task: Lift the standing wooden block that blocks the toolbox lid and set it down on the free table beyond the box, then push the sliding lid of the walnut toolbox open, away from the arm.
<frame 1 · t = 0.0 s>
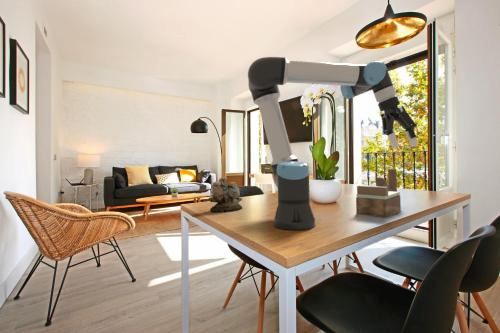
hand: (404, 147, 106), 28 cm above the table, tool tilted 20°, fingers open, 13 cm apart
owl figurine: (225, 210, 129), on the table
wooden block: (388, 206, 123), on the table
toolbox: (378, 212, 110), on the table
lid: (378, 190, 110), point 10 cm above the table, slide at 0.0 cm
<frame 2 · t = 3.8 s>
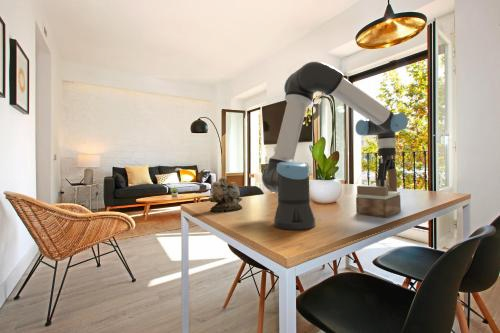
hand: (387, 192, 123), 6 cm above the table, tool pointing down, fingers open, 11 cm apart
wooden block: (388, 206, 123), on the table, touching gripper
everything else where it was.
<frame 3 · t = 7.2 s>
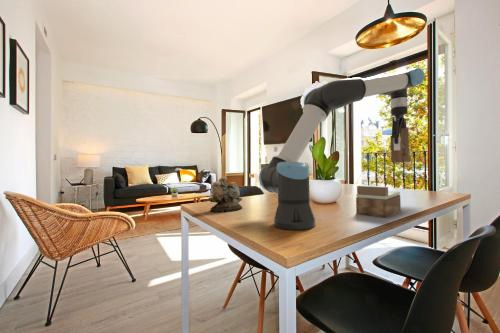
hand: (400, 150, 133), 27 cm above the table, tool pointing down
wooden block: (401, 162, 134), point 21 cm above the table, touching gripper, hand
everything else where it was.
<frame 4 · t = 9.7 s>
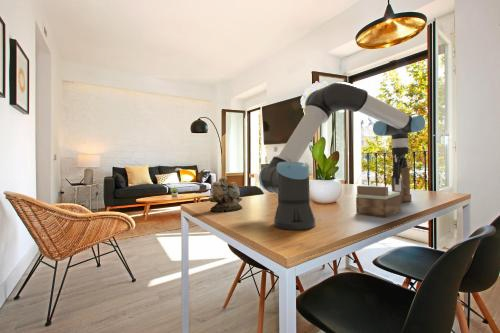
hand: (401, 189, 133), 6 cm above the table, tool pointing down, fingers open, 9 cm apart
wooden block: (401, 201, 134), on the table, touching gripper, hand
everything else where it was.
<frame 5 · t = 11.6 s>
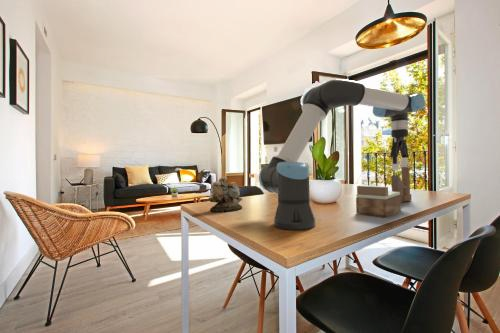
hand: (399, 170, 133), 17 cm above the table, tool pointing down, fingers open, 13 cm apart
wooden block: (401, 201, 134), on the table
everything else where it was.
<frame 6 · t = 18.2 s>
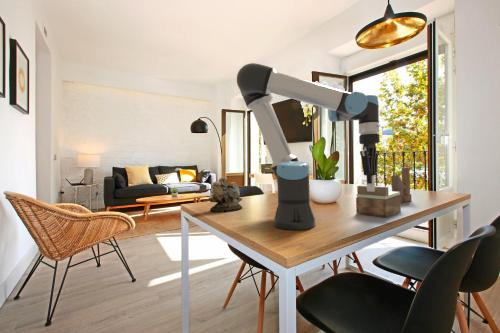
hand: (371, 191, 104), 10 cm above the table, tool pointing down, fingers closed
lid: (378, 190, 110), point 10 cm above the table, slide at 0.2 cm, touching gripper
everything else where it was.
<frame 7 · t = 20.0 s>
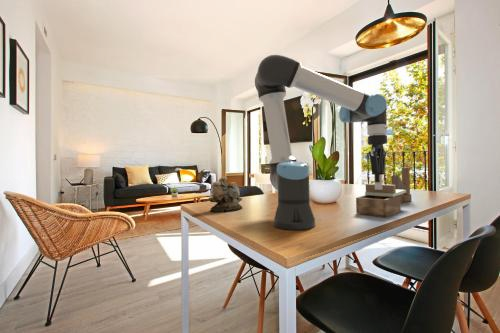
hand: (378, 189, 110), 10 cm above the table, tool pointing down, fingers closed
lid: (385, 188, 116), point 10 cm above the table, slide at 8.7 cm, touching gripper
everything else where it was.
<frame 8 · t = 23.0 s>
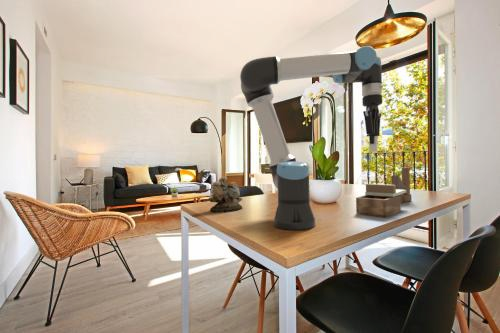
hand: (373, 151, 107), 26 cm above the table, tool pointing down, fingers closed
lid: (385, 188, 116), point 10 cm above the table, slide at 8.9 cm
everything else where it was.
at the end: lid slide at 8.9 cm; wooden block inside the target area (3.8 cm from its centre), on the table; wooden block touching table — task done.
